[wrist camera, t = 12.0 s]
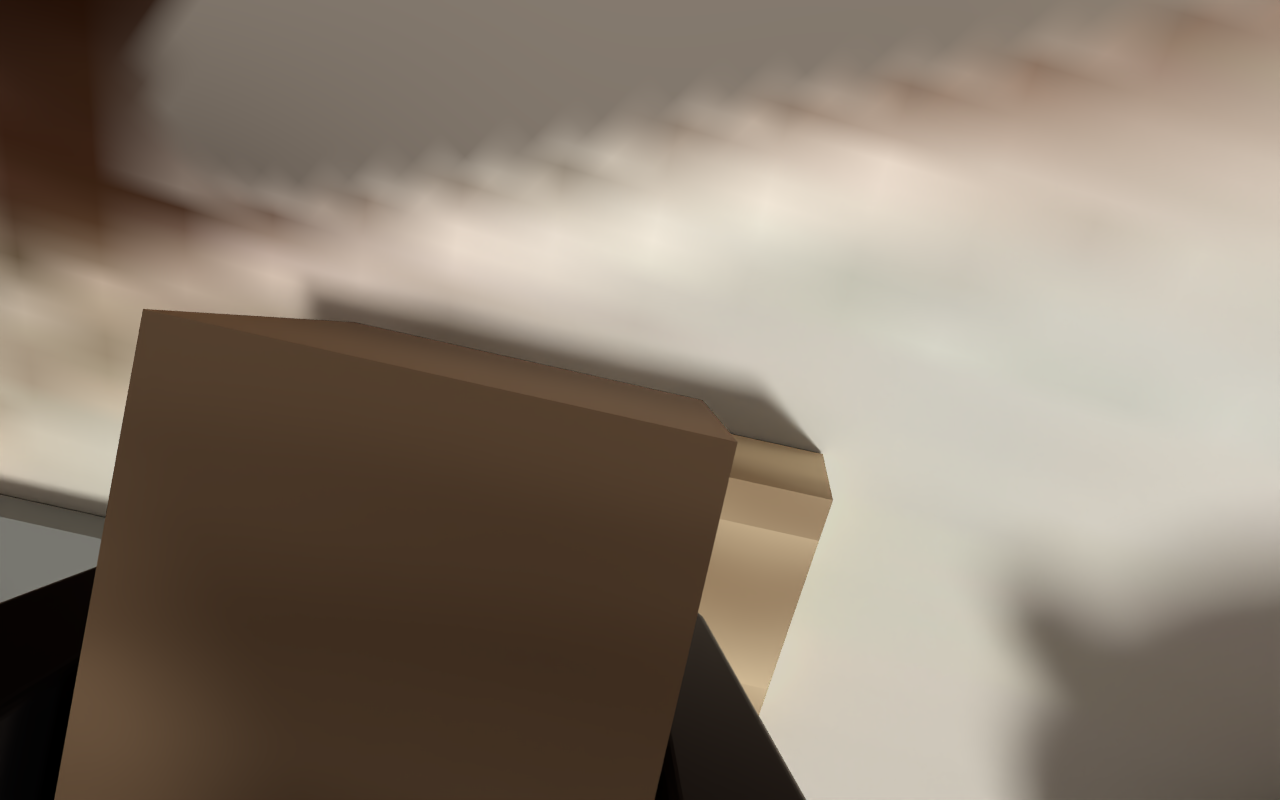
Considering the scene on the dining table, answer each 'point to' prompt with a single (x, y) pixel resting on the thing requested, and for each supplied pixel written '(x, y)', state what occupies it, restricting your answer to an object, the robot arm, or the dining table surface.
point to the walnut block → (387, 572)
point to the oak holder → (763, 555)
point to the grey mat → (44, 544)
